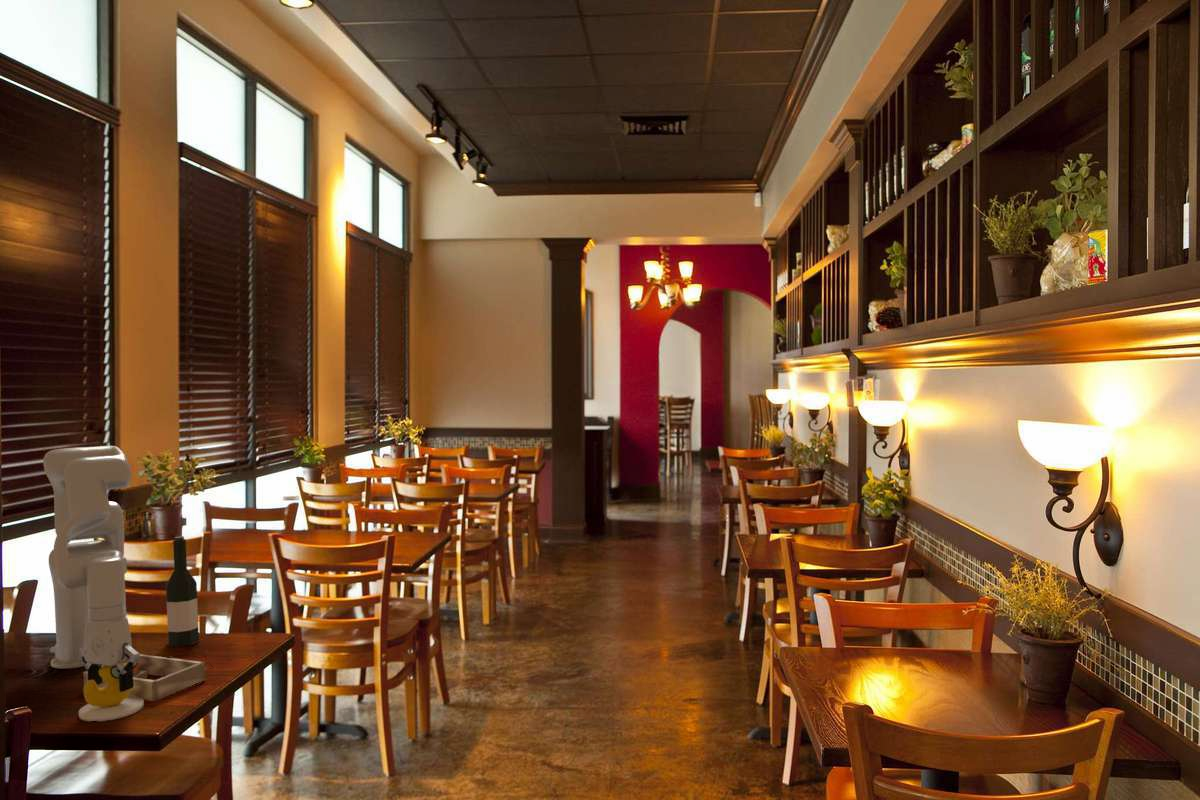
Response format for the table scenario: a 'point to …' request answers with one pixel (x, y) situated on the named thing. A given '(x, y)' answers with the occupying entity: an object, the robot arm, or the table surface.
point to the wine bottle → (181, 600)
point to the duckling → (106, 688)
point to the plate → (112, 710)
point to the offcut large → (141, 675)
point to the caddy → (175, 679)
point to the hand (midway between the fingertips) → (110, 687)
